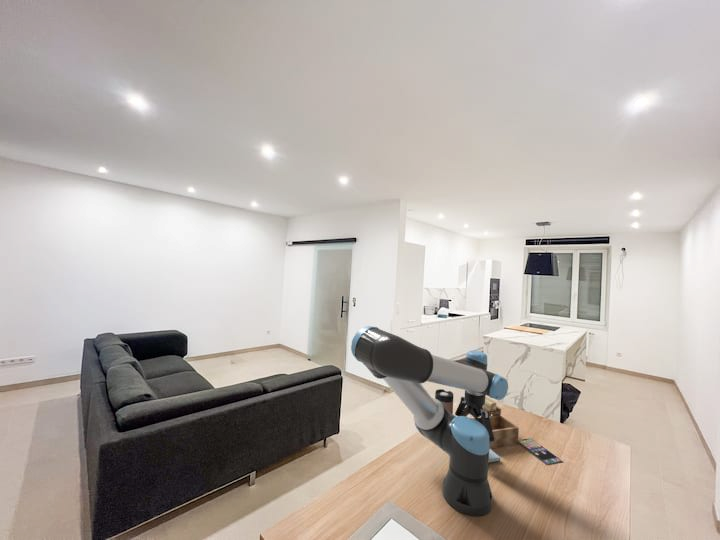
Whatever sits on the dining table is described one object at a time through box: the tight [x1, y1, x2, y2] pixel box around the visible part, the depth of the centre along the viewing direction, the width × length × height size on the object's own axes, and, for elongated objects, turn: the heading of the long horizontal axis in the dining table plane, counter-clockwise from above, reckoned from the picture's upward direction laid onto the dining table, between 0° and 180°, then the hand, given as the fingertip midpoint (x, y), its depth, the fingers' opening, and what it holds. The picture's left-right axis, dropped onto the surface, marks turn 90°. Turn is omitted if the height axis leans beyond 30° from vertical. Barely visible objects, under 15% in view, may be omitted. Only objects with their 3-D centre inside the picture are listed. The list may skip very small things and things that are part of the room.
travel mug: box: [434, 388, 454, 415], centre depth 128 cm, size 8×8×20 cm
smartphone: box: [517, 437, 564, 466], centre depth 122 cm, size 8×15×1 cm, turn 16°
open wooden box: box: [473, 405, 520, 450], centre depth 132 cm, size 17×15×10 cm
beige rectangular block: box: [483, 395, 497, 411], centre depth 143 cm, size 3×11×3 cm, turn 17°
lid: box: [488, 449, 501, 464], centre depth 117 cm, size 16×11×8 cm
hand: (472, 445), depth 117 cm, fingers open, 13 cm apart
